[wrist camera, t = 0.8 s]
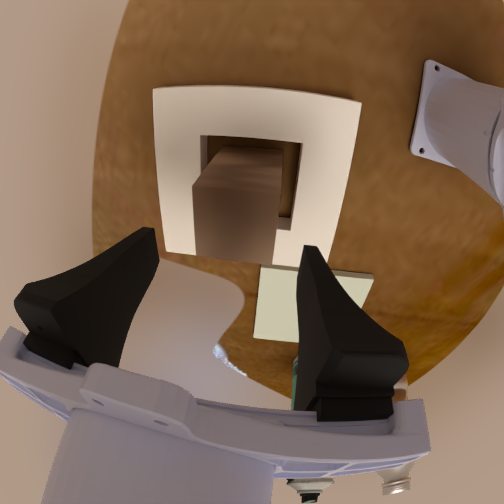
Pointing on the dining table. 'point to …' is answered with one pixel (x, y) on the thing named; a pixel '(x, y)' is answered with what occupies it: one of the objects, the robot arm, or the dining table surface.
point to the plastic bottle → (398, 476)
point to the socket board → (265, 127)
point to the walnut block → (238, 204)
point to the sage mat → (294, 299)
